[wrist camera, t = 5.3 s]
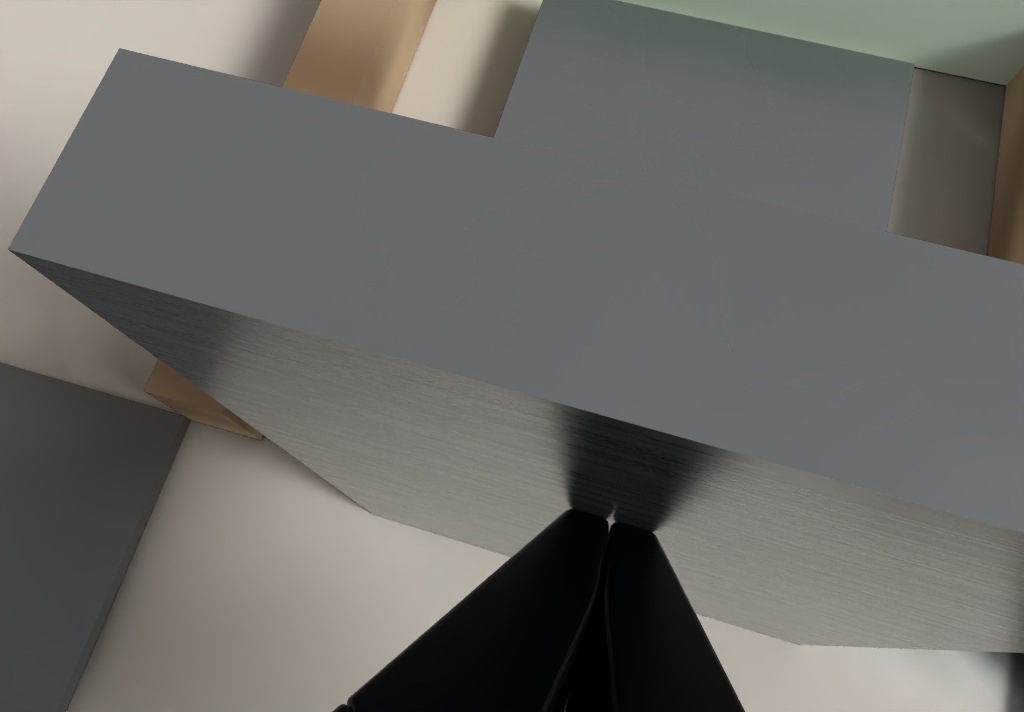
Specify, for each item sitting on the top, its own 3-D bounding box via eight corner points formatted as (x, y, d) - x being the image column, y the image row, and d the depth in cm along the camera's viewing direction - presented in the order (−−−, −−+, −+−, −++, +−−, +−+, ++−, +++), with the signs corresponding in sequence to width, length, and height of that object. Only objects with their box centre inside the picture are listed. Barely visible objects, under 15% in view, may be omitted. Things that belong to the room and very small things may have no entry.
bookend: (798, 644, 14) (1518, 671, 4) (372, 514, 15) (8, 249, 5) (894, 93, 18) (1393, -664, 7) (547, 18, 19) (557, -745, 8)
